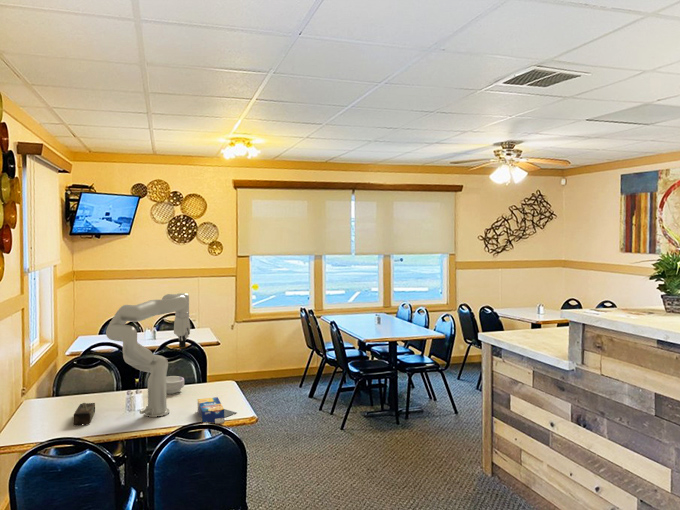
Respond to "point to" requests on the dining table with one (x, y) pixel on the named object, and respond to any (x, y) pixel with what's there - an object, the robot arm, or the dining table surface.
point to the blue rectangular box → (211, 410)
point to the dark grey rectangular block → (84, 413)
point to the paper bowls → (174, 384)
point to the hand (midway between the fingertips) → (182, 347)
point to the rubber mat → (228, 413)
